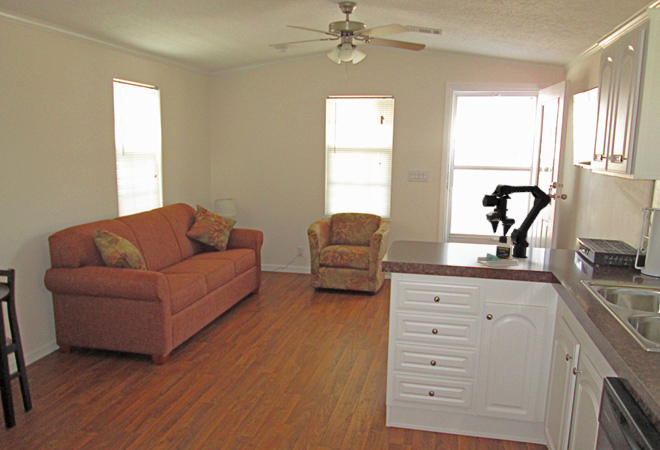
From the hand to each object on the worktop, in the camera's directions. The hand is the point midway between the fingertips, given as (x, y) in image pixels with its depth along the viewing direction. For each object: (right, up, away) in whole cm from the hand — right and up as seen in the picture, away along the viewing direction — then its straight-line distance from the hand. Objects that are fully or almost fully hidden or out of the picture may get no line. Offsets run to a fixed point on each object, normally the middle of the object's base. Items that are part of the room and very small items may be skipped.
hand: (499, 234), depth 284 cm
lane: (-6, -15, -14) cm, 21 cm away
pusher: (-13, -14, -16) cm, 25 cm away
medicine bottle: (-2, -13, -13) cm, 19 cm away
